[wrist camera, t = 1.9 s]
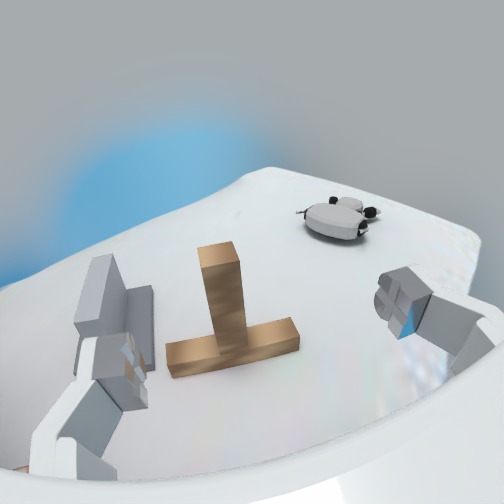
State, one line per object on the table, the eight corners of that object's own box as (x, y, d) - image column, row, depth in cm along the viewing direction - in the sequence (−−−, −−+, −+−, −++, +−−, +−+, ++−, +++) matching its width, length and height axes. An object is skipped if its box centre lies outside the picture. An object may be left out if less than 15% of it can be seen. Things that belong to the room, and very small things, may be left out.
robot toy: (328, 208, 62) (292, 233, 52) (330, 188, 60) (293, 209, 50) (381, 224, 56) (356, 254, 46) (385, 203, 53) (361, 229, 43)
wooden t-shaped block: (173, 378, 29) (132, 281, 21) (171, 357, 31) (134, 259, 24) (298, 350, 31) (305, 247, 24) (289, 331, 34) (292, 230, 26)
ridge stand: (77, 379, 28) (44, 333, 24) (91, 302, 39) (71, 258, 35) (154, 370, 30) (130, 320, 25) (153, 291, 41) (138, 244, 37)
